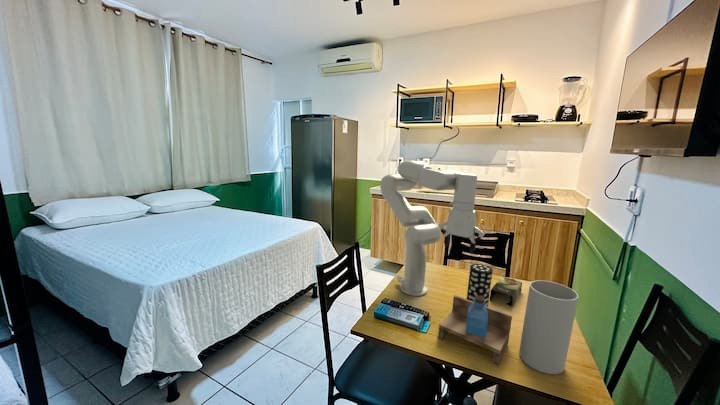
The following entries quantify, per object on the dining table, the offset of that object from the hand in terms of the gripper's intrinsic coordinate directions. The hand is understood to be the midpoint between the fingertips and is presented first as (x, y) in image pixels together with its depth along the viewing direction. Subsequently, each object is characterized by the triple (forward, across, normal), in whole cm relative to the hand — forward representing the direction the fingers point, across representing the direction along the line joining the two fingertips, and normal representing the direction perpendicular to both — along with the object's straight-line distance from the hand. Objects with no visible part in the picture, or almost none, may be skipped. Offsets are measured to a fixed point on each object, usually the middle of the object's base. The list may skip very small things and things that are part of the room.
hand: (458, 249), depth 112 cm
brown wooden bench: (+28, +12, -12) cm, 33 cm away
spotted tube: (+28, +7, +8) cm, 30 cm away
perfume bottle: (+23, +13, -12) cm, 29 cm away
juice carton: (+29, +13, +33) cm, 45 cm away
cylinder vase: (+28, +32, -6) cm, 43 cm away
